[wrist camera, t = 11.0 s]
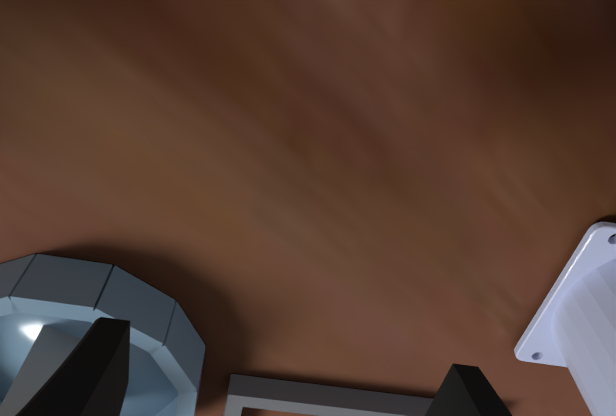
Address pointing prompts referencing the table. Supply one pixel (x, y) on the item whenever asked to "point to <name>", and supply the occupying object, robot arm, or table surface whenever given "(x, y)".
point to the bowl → (90, 306)
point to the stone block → (38, 367)
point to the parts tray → (317, 399)
